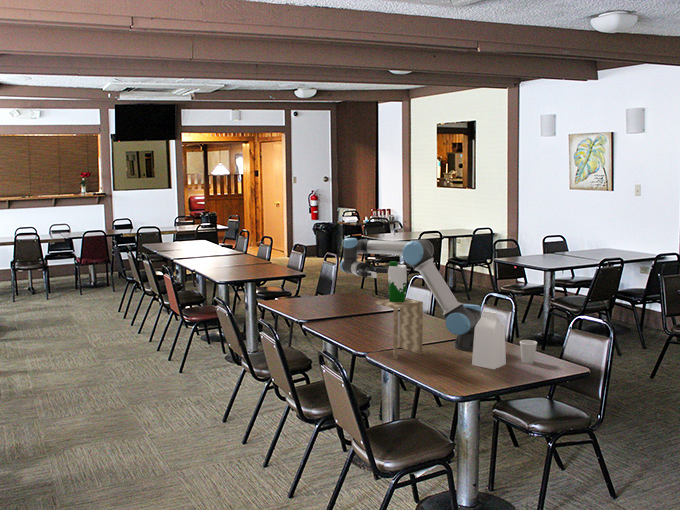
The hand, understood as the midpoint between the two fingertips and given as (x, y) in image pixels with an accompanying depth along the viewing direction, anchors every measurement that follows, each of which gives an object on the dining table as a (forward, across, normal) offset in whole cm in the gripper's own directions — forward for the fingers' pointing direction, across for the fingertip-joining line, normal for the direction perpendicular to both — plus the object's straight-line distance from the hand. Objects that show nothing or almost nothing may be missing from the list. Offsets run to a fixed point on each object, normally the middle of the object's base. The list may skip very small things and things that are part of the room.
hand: (386, 274), depth 359 cm
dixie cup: (+58, -42, -40) cm, 82 cm away
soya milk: (+8, -1, -13) cm, 15 cm away
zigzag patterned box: (+9, -2, -40) cm, 41 cm away
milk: (+50, -23, -40) cm, 68 cm away
